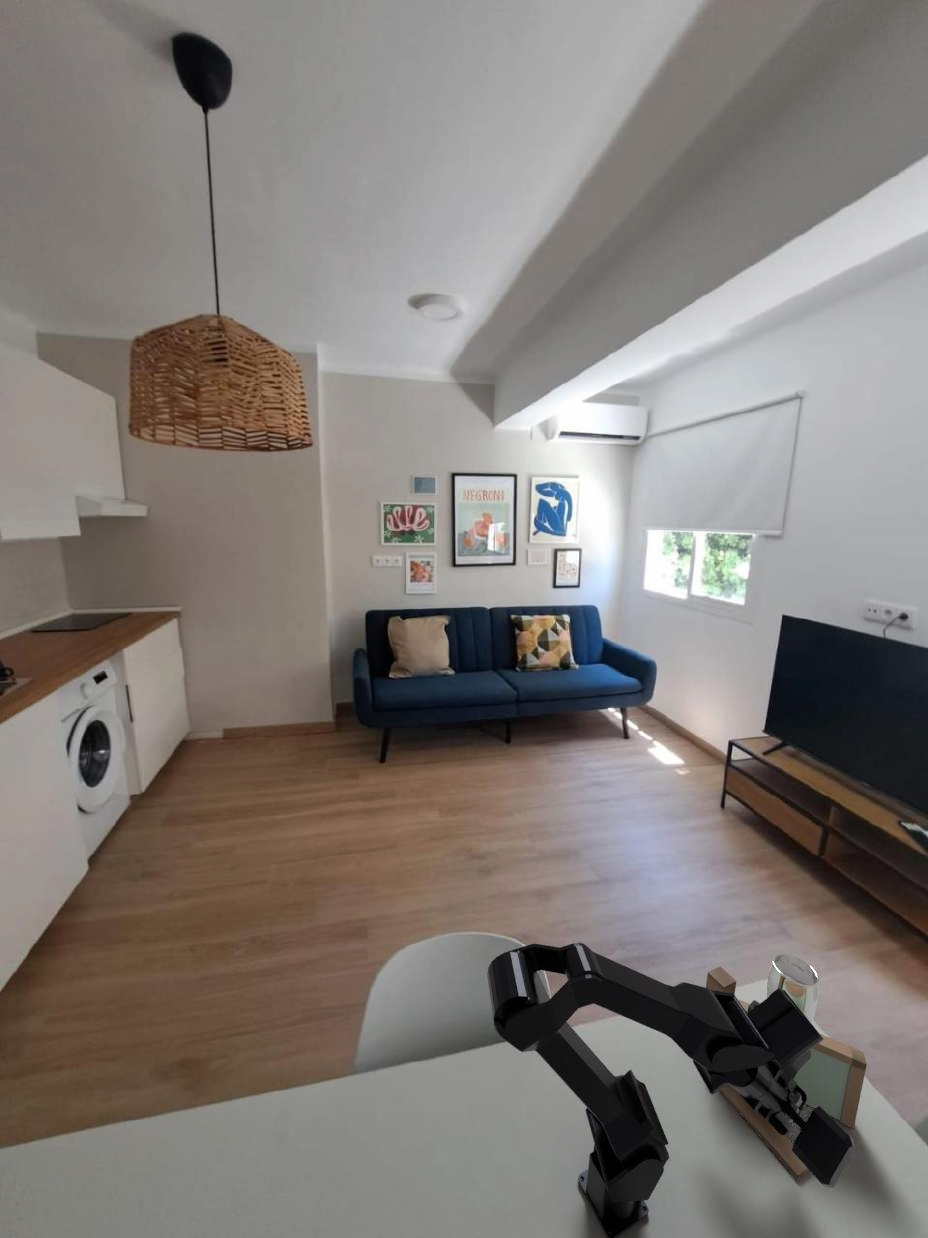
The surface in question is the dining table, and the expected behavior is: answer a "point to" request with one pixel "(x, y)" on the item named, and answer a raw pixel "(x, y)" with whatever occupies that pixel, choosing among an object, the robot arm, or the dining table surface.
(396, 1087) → the dining table surface
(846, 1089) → the board
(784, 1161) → the gate frame
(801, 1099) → the robot arm
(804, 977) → the beer glass
